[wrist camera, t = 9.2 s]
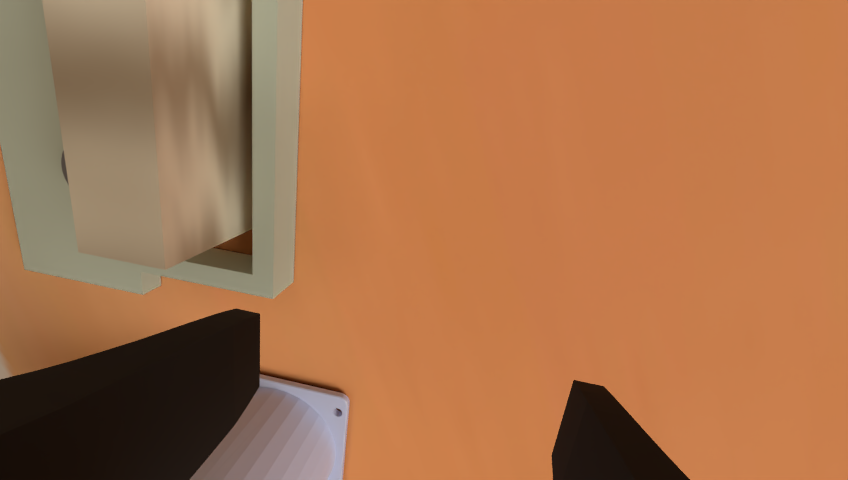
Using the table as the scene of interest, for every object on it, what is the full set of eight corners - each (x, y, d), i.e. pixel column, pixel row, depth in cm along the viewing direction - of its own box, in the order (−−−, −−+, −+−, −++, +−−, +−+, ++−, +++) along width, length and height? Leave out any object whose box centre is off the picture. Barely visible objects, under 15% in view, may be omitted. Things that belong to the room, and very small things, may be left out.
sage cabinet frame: (292, 312, 21) (272, 332, 19) (47, 261, 23) (7, 275, 21) (308, -178, 15) (281, -221, 13) (-31, -197, 16) (-99, -237, 15)
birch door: (258, 226, 20) (165, 269, 14) (193, 214, 20) (78, 252, 15) (259, -60, 16) (134, -152, 11) (180, -67, 17) (18, -160, 11)
